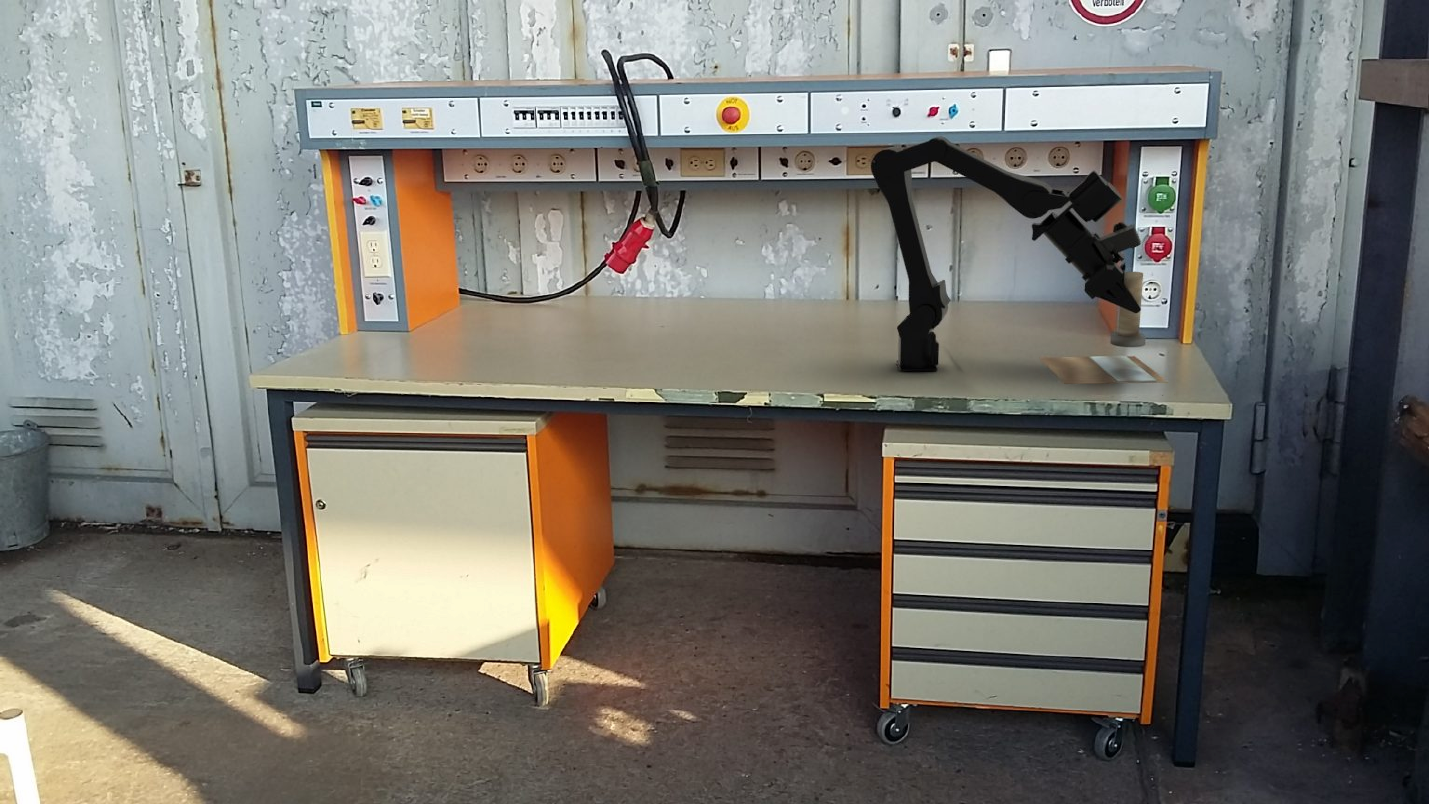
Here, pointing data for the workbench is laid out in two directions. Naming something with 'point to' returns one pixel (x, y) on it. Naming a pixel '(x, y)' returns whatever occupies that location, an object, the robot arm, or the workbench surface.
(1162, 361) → the workbench surface
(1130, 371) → the board
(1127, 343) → the post
